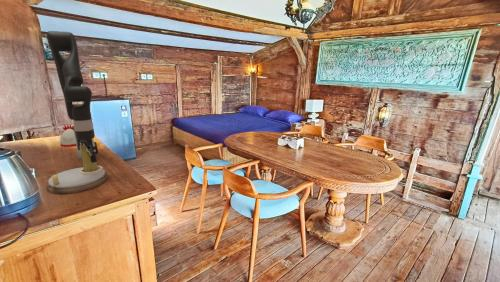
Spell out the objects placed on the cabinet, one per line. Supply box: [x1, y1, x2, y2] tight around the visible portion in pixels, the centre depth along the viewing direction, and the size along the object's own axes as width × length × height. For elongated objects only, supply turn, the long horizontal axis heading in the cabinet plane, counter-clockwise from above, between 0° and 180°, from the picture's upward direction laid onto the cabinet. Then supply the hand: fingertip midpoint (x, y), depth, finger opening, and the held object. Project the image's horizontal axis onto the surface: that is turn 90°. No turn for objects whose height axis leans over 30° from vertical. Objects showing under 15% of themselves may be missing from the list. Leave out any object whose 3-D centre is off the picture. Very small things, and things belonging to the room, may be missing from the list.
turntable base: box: [45, 170, 109, 195], centre depth 113 cm, size 24×24×3 cm
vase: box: [80, 144, 98, 172], centre depth 116 cm, size 6×6×14 cm
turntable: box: [47, 165, 106, 189], centre depth 112 cm, size 22×22×6 cm
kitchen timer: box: [59, 124, 77, 148], centre depth 172 cm, size 14×14×15 cm
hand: (89, 160), depth 116 cm, fingers open, 8 cm apart
